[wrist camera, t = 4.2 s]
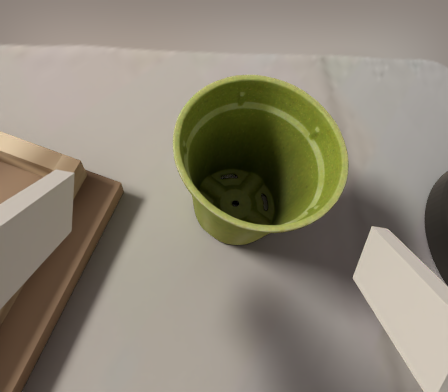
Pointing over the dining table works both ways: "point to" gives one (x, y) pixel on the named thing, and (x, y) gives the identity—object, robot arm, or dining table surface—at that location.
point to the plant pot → (258, 157)
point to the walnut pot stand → (56, 262)
